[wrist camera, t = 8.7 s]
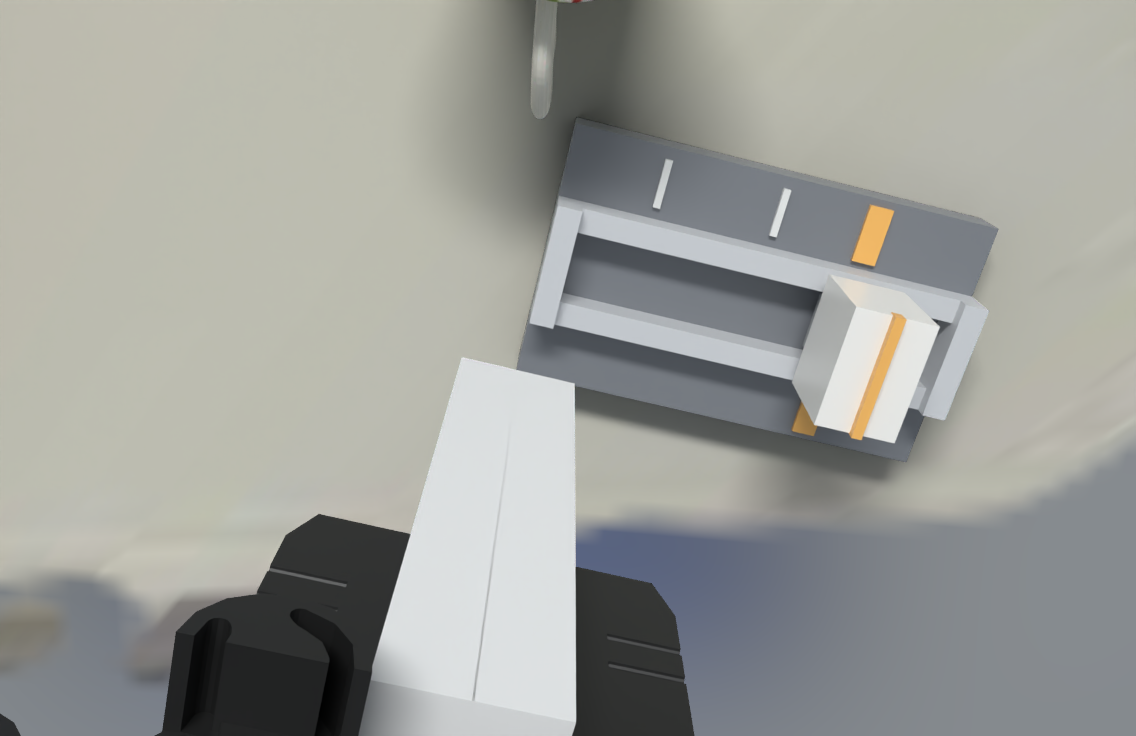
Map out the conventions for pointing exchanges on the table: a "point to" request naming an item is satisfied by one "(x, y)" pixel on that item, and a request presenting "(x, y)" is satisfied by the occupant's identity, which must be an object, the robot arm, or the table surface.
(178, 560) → the table surface
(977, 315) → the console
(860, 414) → the fader tab
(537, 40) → the mug
